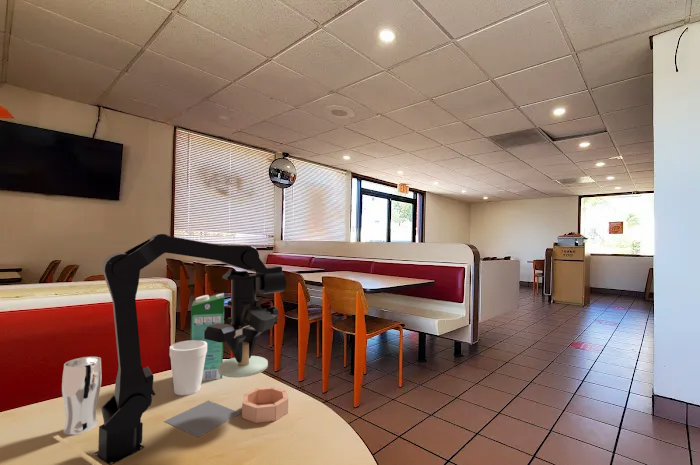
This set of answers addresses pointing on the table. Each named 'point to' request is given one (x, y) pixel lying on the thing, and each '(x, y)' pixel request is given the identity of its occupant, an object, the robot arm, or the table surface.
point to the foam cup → (187, 365)
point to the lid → (243, 365)
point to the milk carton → (202, 316)
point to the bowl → (264, 404)
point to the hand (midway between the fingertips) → (243, 360)
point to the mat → (202, 418)
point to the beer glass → (81, 393)
